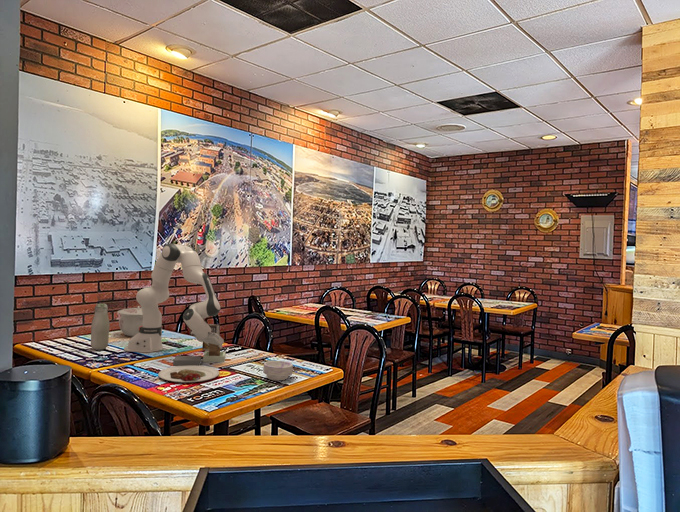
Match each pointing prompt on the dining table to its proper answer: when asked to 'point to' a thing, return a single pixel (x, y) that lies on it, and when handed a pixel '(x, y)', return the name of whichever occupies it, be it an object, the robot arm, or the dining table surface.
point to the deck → (186, 360)
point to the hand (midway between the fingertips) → (215, 345)
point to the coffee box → (214, 329)
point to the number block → (214, 350)
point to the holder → (214, 357)
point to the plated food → (188, 373)
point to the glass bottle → (100, 327)
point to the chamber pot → (130, 320)
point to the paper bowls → (278, 370)
